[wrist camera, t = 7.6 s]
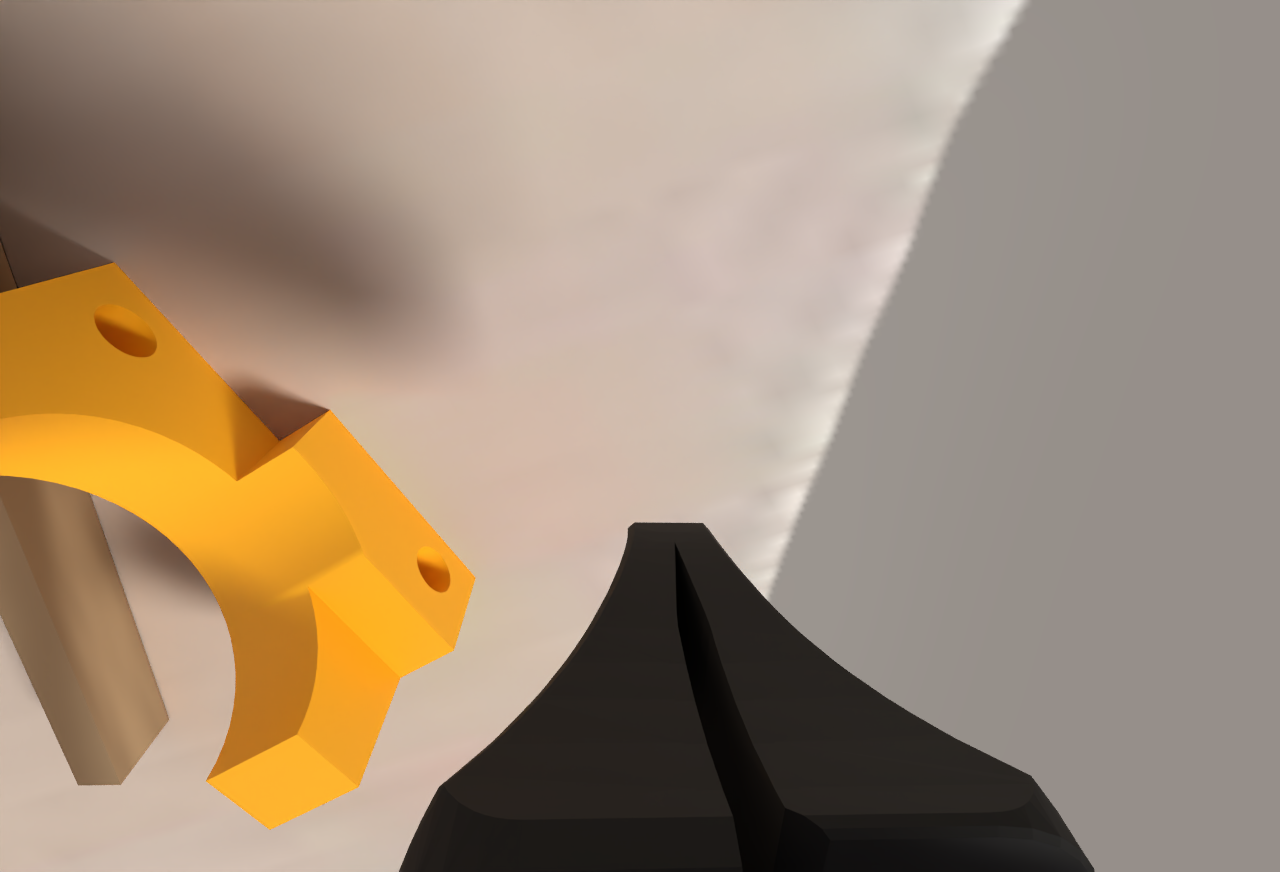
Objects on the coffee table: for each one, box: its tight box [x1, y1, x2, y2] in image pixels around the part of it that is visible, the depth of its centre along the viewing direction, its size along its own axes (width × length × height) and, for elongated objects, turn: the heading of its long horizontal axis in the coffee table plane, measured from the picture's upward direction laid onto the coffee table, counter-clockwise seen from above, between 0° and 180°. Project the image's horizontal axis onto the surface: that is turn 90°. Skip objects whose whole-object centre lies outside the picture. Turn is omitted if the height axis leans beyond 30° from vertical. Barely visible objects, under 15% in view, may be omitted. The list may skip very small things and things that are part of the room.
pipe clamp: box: [0, 262, 475, 830], centre depth 15 cm, size 12×4×6 cm, turn 30°
